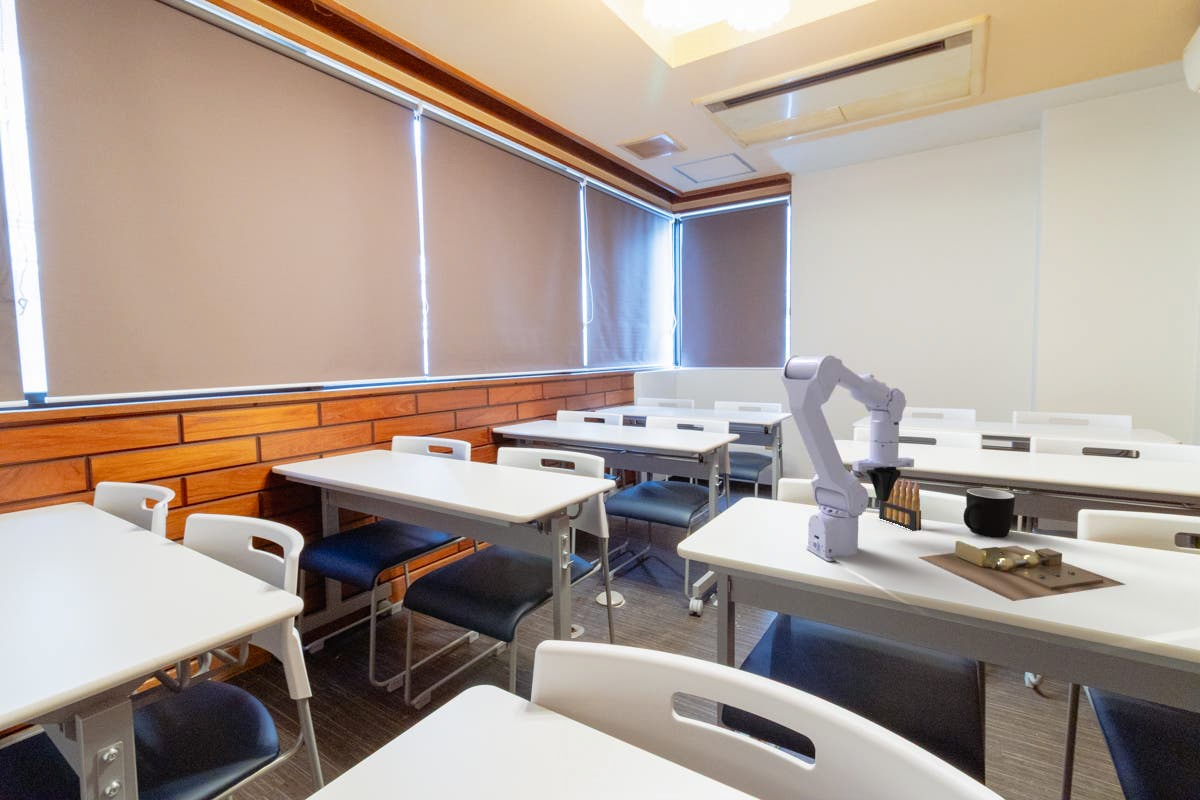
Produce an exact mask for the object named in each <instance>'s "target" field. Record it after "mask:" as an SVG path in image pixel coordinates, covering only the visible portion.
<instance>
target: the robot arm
mask: <svg viewBox="0 0 1200 800" xmlns="http://www.w3.org/2000/svg"><path fill="white" fill-rule="evenodd" d="M780 379H781V381H782V383H783V386H784V388H785V390H786V393H787V397H788V405H789V409H790V412H791V415H792V417H793V420H794V421H795V422H794V423H795V425H796V427H797V429H798V432H799V434H800V436H801V439H802V441H803V444H804V447H805V448H806V451H807V453H808V456H809V459H810V460H811V462H812V465H813V467H814V470H815V471H816V474H815V475H814V476H813V478H812V480H811V481H810V484H811V487H812V496H813V500H814V502H815V504H816V505H818V510H819V511H820V512H819V513H815V514H813V515H811V516H810V517H809V519H808V533H807V534H808V537H807V538H808V539H807V540H808V541H807V542H808V543H807V546H805V549H806V550H808V551H810V552H812V554H815V555H816V556H818V557H820V558H821V559H823V560H825V561H827V562H835V561H837V560H836V559H835V558H834V557H849V556H854V555H856V554H858V551H859V549H858V547H859V546H858V545H859V543H858V542H859V517H860V516H862V514H863V513H864V512H865V511H866V510H867V508H868V505H869V502H870V497H869V492H868V489H867V488H866V487H865V486H864V485H863V484H862V483H861V481H860V479H859V478H858V477H857V476H856V475H854V474H853V473H852V472H850V471H849V470H848V469H846V467H845V465H844V463H843V460H842V457H841V454H840V452H839V449H838V447H837V445H836V442H835V439H834V437H833V435H832V432H831V430H830V428H829V424H828V423H827V419H826V417H825V414H824V413H823V409H822V405H824V404H826V403H827V402H828V401H829V399H830V398H831V395H832V394H833V392H834V390H835V388H836V387H837V386H839V387H842V388H844V389H846V390H848V394H849V396H850V397H851V398H852V399H854V400H856V401H857V402H860V403H861V404H863V405H864V407H865V409H866V410H867V412H870V417H869V418H870V422H869V423H870V424H869V426H870V427H869V455H868V457H869V458H865V459H861V460H853V461H852V471H855V472H863V471H865V472H866V473H867V475H868V477H869V478H870V480H871V483H872V486H873V489H874V493H875V497H876V500H878V501H879V502H880V501H883V502H884V501H888V500H889V497H890V493H891V491H892V488H893V486H894V487H895V482H896V480H897V479H898V478H899V479H900V476H901V475H902V473H901V472H902V471H901V468H915V458H911V457H899V444H900V443H899V441H900V422H901V421H902V419H903V415H904V414H903V412H904V411H905V408H906V405H907V400H906V396H905V394H904V392H903V391H902V390H900V389H899V388H895V387H894V388H893V387H889V386H887V383H885V382H883V381H879V380H877V379H875V376H874V374H871V373H864V374H859V375H858V374H857V373H855V372H854V371H852V370H851V369H850V368H849V367H847V366H846V365H844V363H843V361H842V359H840V358H837V357H836V356H834V355H831V354H829V355H822V356H821V355H815V356H812V355H808V356H805V355H803V356H800V355H792V356H790V357H788V358H787V359H786V361H785V362H784V365H783V367H782V370H781V375H780ZM899 468H900V470H899Z"/></svg>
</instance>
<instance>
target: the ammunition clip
mask: <svg viewBox="0 0 1200 800" xmlns="http://www.w3.org/2000/svg"><path fill="white" fill-rule="evenodd" d="M918 483H919V482H918V481H916V482H915V483H914V486H913V483H912V480H911V479H909V481H908V483H907V482H906V480H905V478H903V479H902V480H900V477H899V478H898V479H897V480H896V482H895V484H894V486H893V488H892V491H891V493H890V497H889V500H888V501H884V502H883V501H880V500H879V510H878V511H879V512H878V513H879V514H878V519H879V518H880V519H883V520H886V521H889V522H892V523H895V524H898V525H900V526H903V527H905V528H908V529H910V530H912V531H911V532H917V531H922V510H920V509H921V507H920V506H921V499H920V486H919V484H918ZM910 530H909V531H910Z"/></svg>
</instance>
